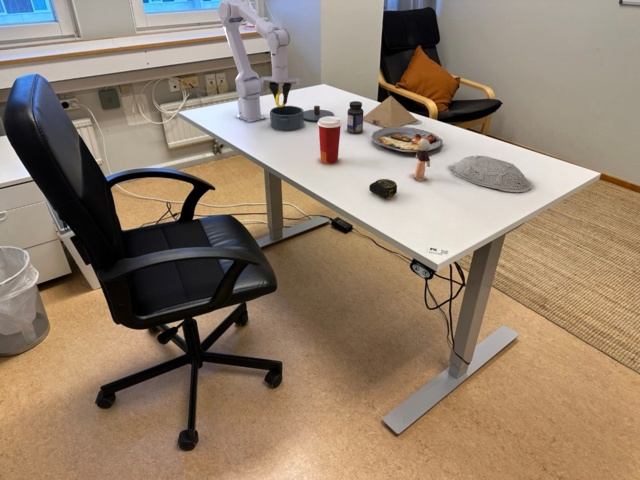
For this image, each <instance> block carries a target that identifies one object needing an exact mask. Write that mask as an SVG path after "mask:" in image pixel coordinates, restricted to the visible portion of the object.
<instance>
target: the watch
mask: <svg viewBox="0 0 640 480" xmlns="http://www.w3.org/2000/svg"><path fill="white" fill-rule="evenodd" d="M281 94H282V95H283V89H279V90H278V91H277V95H276V98H274V102H275V105H276V107H283V106H286V104H284V102H283V101H282V104H280V96H281Z"/></svg>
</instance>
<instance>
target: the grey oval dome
mask: <svg viewBox="0 0 640 480" xmlns="http://www.w3.org/2000/svg"><path fill="white" fill-rule="evenodd" d="M450 170H451V171H452V173H453V175H455V176H456V177H458V178H461V179H463V180H465V181H468V182H470V183H472V184H476V185H479V186H482V187H486V188H492V189H497V190H500V191H503V192H510V193H524V192H527V191H530V190H531V189H532V183H531V182H530V181H529V180H528V179H527V178H526V177H525V174H524V173H523V172H522V171H521V170H520V169H519V168H518V166H516V165H515V164H514V163H512V162H508V161H505V160H502V159H497V158H495V157H490V156H487V155H481V154H480V155H479V154H477V155H471V156H465V157H463V158H461V159H460V160H459V161H458V162H457V163H456V164H455V165H451V167H450Z"/></svg>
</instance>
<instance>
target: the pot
mask: <svg viewBox="0 0 640 480" xmlns="http://www.w3.org/2000/svg"><path fill="white" fill-rule="evenodd" d="M269 117H270V120H269V121H270V128H272V129H274V130H276V131H280V132H292V131H293V132H294V131H298V130H300V129H302V128H304V125H305V119H304V109H303V108H302V107H299V106H295V105H285V106H283V107H277V106H276V107H273V108H271V109H270V110H269Z"/></svg>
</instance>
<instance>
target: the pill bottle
mask: <svg viewBox="0 0 640 480" xmlns="http://www.w3.org/2000/svg"><path fill="white" fill-rule="evenodd" d="M362 107H363V102H362V101H357V100H355V101H354V100H353V101H350V102H349V108H348V109H347V112H346V113H347V119H346V131H347V133H348V134H354V135H355V134H357V135H358V134H362V133H363V130H364V120H363V117H364V109H363V108H362Z"/></svg>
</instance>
